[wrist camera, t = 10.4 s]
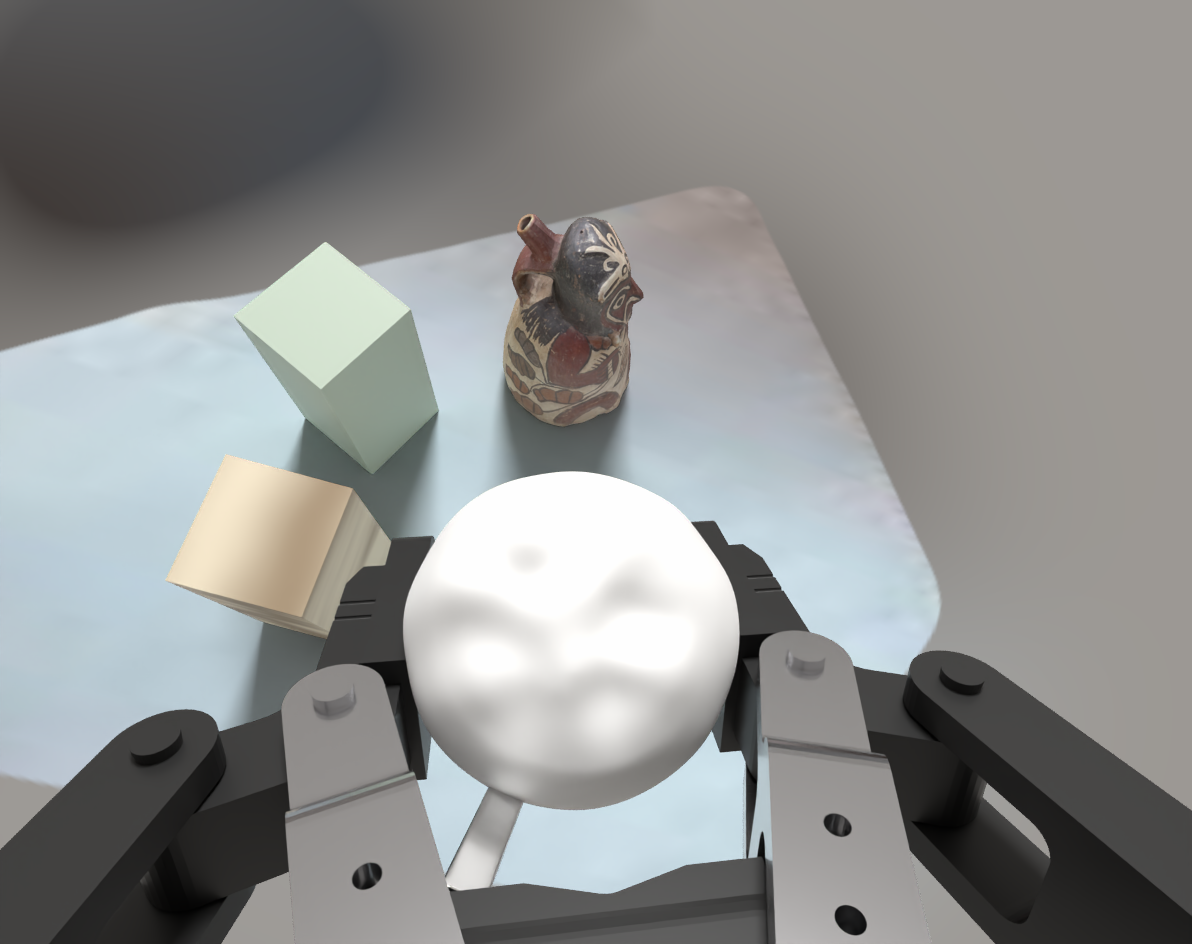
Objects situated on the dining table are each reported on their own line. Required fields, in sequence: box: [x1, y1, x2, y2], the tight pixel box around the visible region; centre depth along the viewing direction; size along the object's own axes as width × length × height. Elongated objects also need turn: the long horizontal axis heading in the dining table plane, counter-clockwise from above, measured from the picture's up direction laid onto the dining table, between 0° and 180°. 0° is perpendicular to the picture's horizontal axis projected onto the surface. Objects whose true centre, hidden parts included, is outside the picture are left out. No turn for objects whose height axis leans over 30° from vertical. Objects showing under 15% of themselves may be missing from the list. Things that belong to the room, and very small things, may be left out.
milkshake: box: [403, 471, 739, 892], centre depth 12 cm, size 5×5×10 cm
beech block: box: [165, 454, 391, 639], centre depth 31 cm, size 5×5×10 cm
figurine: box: [503, 214, 643, 427], centre depth 35 cm, size 7×7×12 cm
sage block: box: [234, 242, 439, 475], centre depth 34 cm, size 5×5×10 cm
